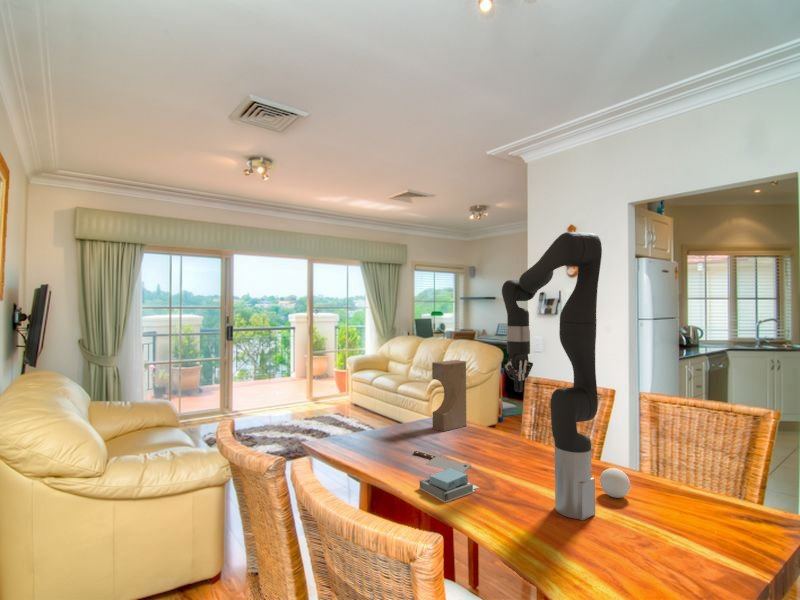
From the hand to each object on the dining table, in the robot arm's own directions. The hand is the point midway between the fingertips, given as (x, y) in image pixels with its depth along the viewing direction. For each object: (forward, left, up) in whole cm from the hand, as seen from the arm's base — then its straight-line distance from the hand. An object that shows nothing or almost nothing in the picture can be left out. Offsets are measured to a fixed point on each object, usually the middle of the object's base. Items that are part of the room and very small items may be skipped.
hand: (518, 391), depth 143 cm
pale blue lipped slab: (+3, +29, -27) cm, 39 cm away
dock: (+4, +27, -27) cm, 38 cm away
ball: (-28, -8, -27) cm, 40 cm away
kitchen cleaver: (+23, +16, -28) cm, 40 cm away
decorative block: (+54, -18, -27) cm, 63 cm away
